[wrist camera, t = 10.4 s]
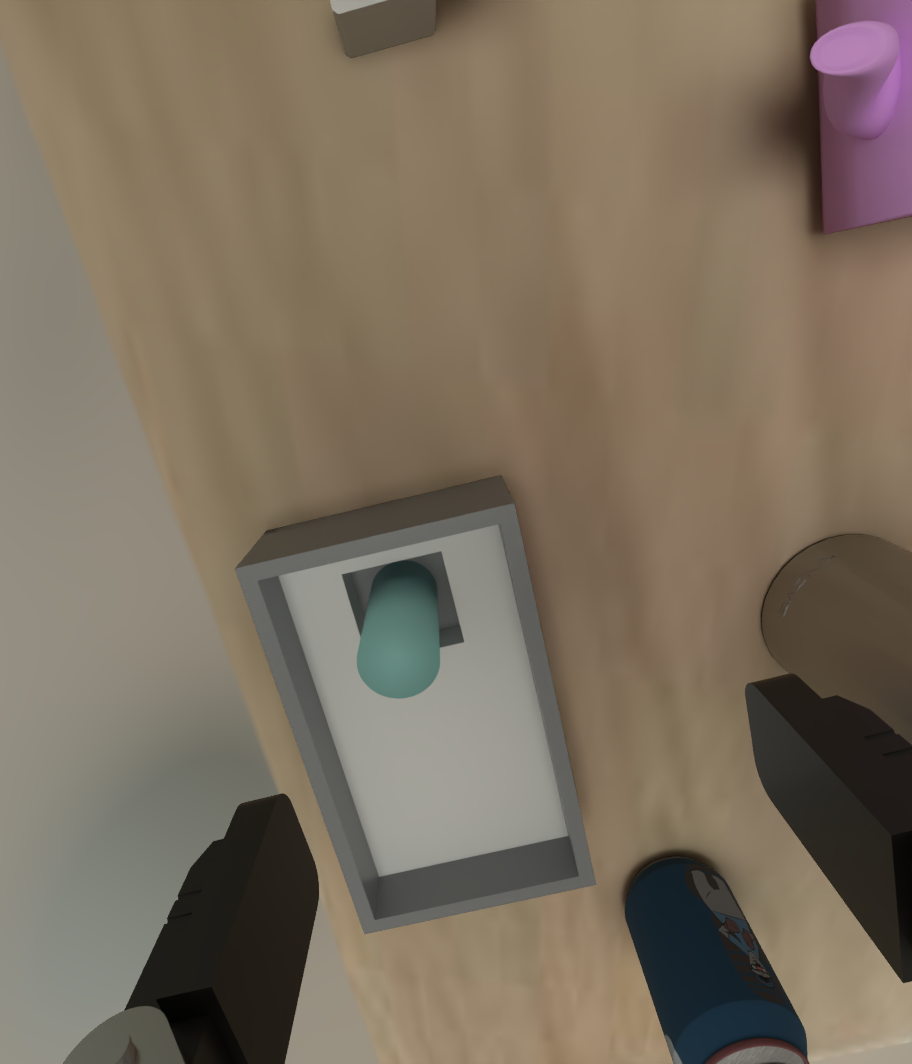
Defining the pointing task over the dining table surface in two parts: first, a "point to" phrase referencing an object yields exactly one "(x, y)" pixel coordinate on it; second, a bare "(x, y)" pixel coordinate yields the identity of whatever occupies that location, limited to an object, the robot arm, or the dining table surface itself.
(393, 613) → the peg
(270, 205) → the dining table surface
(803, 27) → the dining table surface
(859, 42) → the teapot
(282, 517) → the dining table surface
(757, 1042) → the soda can
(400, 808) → the bin
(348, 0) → the lighter
